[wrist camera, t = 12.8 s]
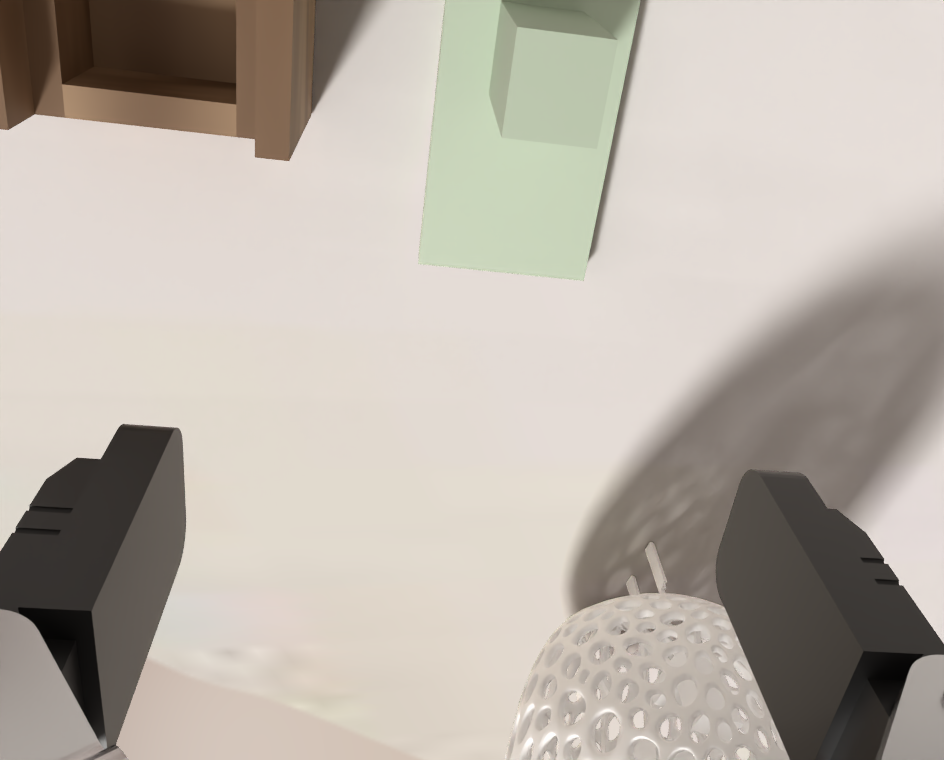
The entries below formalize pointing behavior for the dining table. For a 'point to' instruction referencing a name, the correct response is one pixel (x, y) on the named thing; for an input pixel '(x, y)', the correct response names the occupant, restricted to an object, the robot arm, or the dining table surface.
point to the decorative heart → (644, 684)
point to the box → (163, 65)
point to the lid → (523, 132)
